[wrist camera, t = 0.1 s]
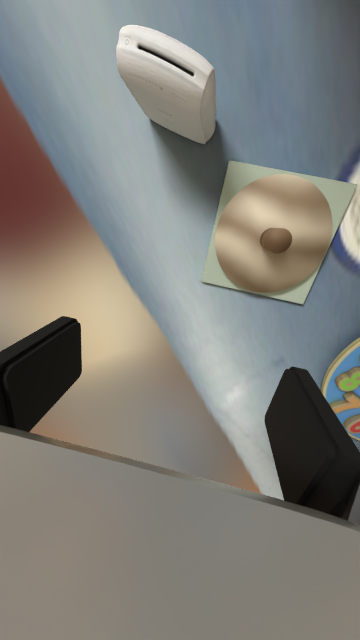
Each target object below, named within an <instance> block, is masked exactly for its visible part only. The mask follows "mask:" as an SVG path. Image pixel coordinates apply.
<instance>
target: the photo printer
mask: <svg viewBox="0 0 360 640" xmlns="http://www.w3.org/2000/svg"><path fill="white" fill-rule="evenodd" d="M116 56H117V65H118V70H119V73H120V76H121V78H122V79H123V81H124V82H125V84H126V86H127V87H128V89H129V90H130V92H131V93H132V95H133V96H134V98H135V99H136V101H137V102H138V104H139V105H140V107H141V108H142V110H143V111H144V113H145V114H146V115H147V116H148V117H149V118H150V119H151V120H153V121H154V122H156V123H157V124H159V125H161V126H163V127H165V128H167V129H169V130H171V131H173V132H175V133H177V134H179V135H181V136H184V137H186V138H188V139H190V140H193V141H195V142H198V143H201V144H205V143H206V142H207V141H208V140H209V139H210V138H211V137H212V135H213V133H214V131H215V126H216V123H215V117H216V84H215V83H216V82H215V69H214V68H213V67H212V66H211V64H210V63H209V62H208V61H207V60H206V59H205V58H204V57H203V56H201V55H200V54H198V53H197V52H196V51H194V50H193V49H191V48H190V47H188V46H186V45H185V44H183V43H181V42H179V41H177V40H176V39H174V38H172V37H170V36H168V35H165V34H163V33H161V32H159V31H156V30H153V29H150V28H147V27H143V26H138V25H127V26H124V27H122V28H121V30H120V33H119V42H118V45H117V48H116Z"/></svg>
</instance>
